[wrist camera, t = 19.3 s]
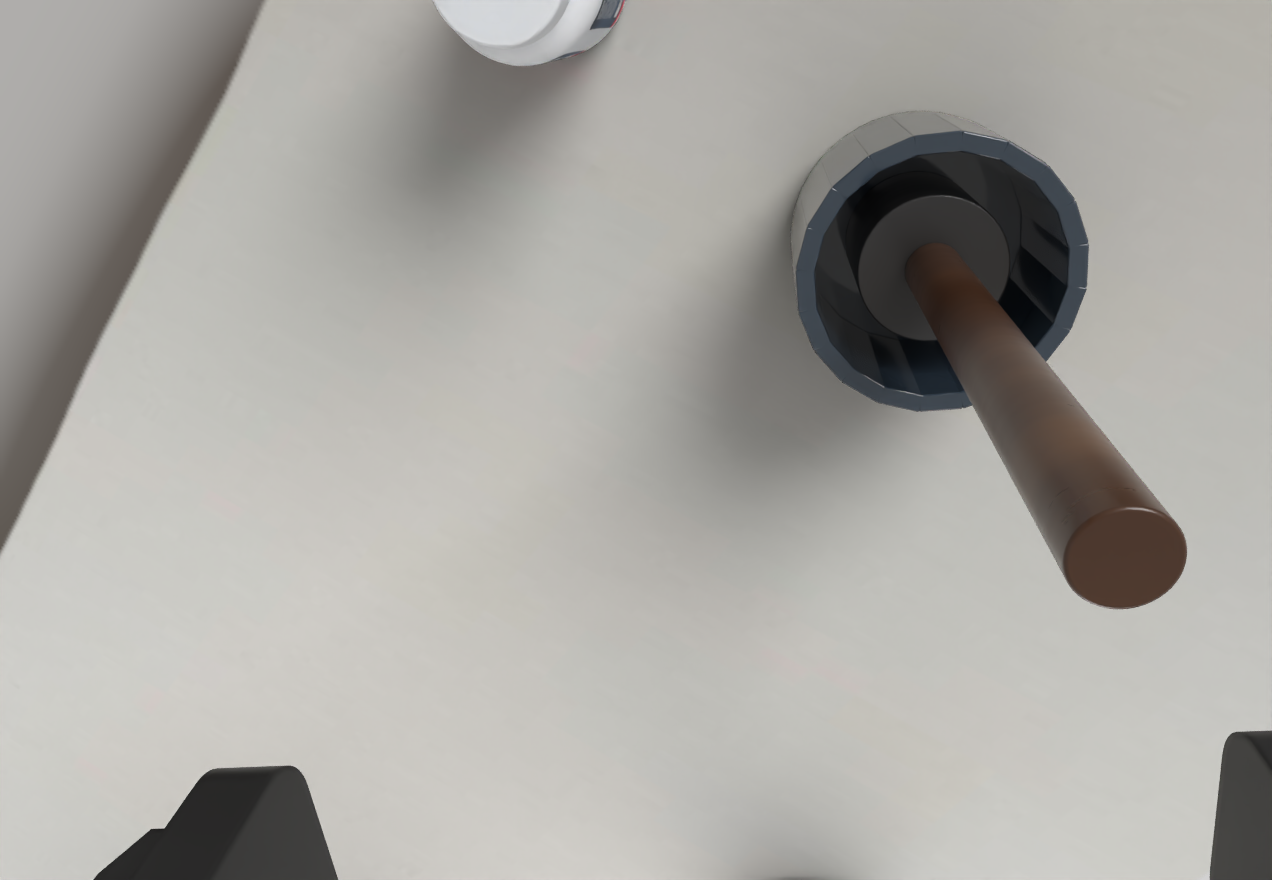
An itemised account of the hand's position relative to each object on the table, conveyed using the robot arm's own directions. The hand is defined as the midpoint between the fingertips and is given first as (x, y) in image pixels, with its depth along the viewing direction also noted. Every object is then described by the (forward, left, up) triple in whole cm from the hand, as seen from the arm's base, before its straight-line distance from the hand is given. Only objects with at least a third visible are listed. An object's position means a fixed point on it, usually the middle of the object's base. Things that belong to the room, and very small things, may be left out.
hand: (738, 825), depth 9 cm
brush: (+2, +6, -31) cm, 32 cm away
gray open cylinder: (+2, +6, -32) cm, 33 cm away
